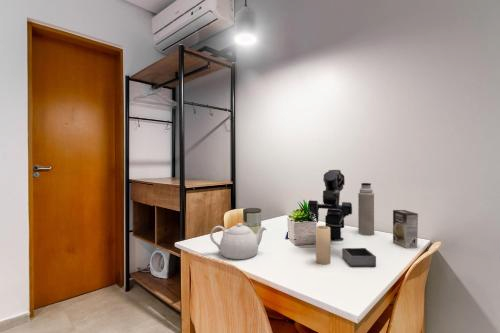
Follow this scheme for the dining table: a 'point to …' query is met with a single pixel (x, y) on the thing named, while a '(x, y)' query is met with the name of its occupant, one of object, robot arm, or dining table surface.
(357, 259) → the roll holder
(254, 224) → the coffee can
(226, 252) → the teapot
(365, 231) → the thermos bottle
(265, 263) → the dining table surface
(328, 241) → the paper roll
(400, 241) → the coffee box
